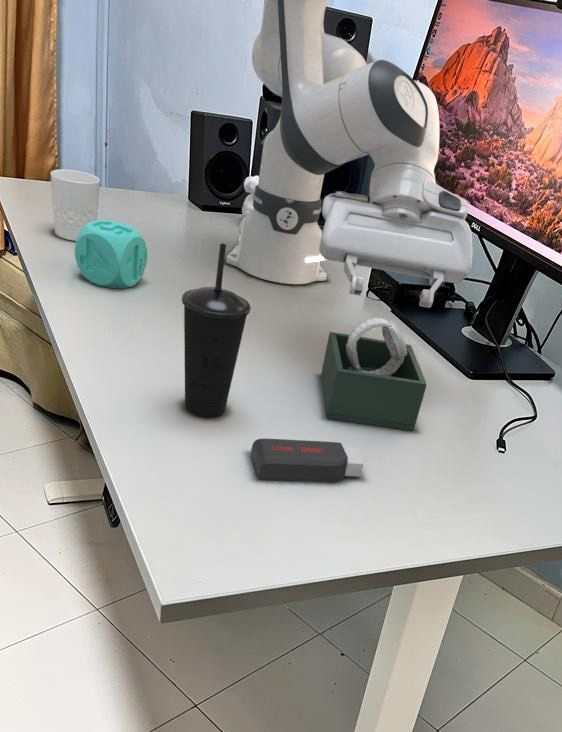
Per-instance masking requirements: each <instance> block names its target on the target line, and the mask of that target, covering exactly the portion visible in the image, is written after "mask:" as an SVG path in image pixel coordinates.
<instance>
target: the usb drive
mask: <svg viewBox="0 0 562 732" xmlns="http://www.w3.org/2000/svg"><path fill="white" fill-rule="evenodd" d="M250 456H251V459H252V464H253V466H254V470H255V474H256V477H257V479H258V480H260V481H262V480H263V481H290V482H317V483H318V482H320V483H322V482H323V483H337V482H339V481H343V480H344V479H345V477H359V478H360V477H361V475H362V471H363V467H364V461H363V460H362V458H361V455H360V453H359V451H358V449H357V448H347V447H344V446H343V444H342V442H337V441H321V440H302V439H298V440H297V439H281V438H257V439H256V440H254V441H253V443H252V446H251V449H250Z"/></svg>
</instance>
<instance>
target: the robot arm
mask: <svg viewBox="0 0 562 732" xmlns="http://www.w3.org/2000/svg"><path fill="white" fill-rule="evenodd" d="M329 2H330V0H263V8H262V9H263V10H262V19H261V25H260V26H261V27H260V31H259V33H258V34H257V35H256V38H255V39H254V42H253V44H252V45H253V46H252V49H251V61H252V62H251V63H252V67H253V70H254V73H255V74H256V77H257V78H258V79H259V81H261V83H262V84H264V86H265V87H266V88H267V89H268V90H269V91H271V92H272V93H273V94H274V95H276V96H278V97H280V98H281V108H280V117H279V119H278V122H277V123H276V125H275V127H274V128H273V129H272V130H271V131H270V132H269V133H268V134H266V136H265V138H264V140H263V145H262V152H261V159H260V160H261V162H260V167H259V174H258V177H259V182H258V185H256V187H255V192H254V195H253V198H254V199H253V207H254V209H253V210H252V212H251V213H250V214H248V215H247V216H246V218H243V217H242V220H241V221H240V222H239V228H238V233H239V234H240V235H239V237H238V239H237V244H236V246H235V247H233V249H232V250H231V251H230V253H228V255H226V257H225V263H227V264H228V265H231V266H233V267H236V268H238V269H240V270H242V271H243V272H245V273H247V274H249V275H251V276H253V277H256V278H258V279H262V280H264V281H270V282H273V283H277V284H279V283H280V284H286V285H306V284H311V283H314V282H324V281H327V280H328V279H327V278H328V274H327V273H326V271H325V269H324V268H323V267H322V266H321V261H330V262H331V261H332V262H338V263H341V264H343V272H344V274H345V275H346V277H347V279H348V282H349V283H350V285H349V295H355V296H361V295H362V294H363V289H364V282H365V281H364V280H365V278H364V277H360V276H358V274H357V271H356V269H355V268H356V266H359V267H365V268H371V269H376V270H381V271H387V272H393V273H397V274H403V275H408V276H413V277H418V278H425V279H428V280H429V282H428V283H429V286H431V287H430V288H429V289H425V288H424V289H422V291H421V293H420V294H419V302H418V303H419V304H418V306H419V307H423V308H428V309H431V307H432V305H433V303H434V298H435V293H436V292H437V290H438V289H439V288H440V286H441V285H442V283H443V282H446V283H451V284H457V285H458V284H460V283H461V282H463V281H464V280H465V279H466V278H467V276H469V274H470V272H471V269H472V264H473V238H472V229H471V227H470V225H469V223H468V222H467V221H466V218H467V216H468V212H469V203H468V201H466V200H465V199H464V198H462V197H461V196H458V195H456V194H454V193H452V192H450V191H449V190H447V189H445V188H444V187H442V186H441V185H439V184H437V181H436V175H435V167H436V165H437V163H438V159H439V152H440V138H441V137H440V132H441V131H440V130H441V129H440V113H439V107H438V103H437V99H436V96H435V94H434V93H433V91H432V90H431V89H430V88H429V87H428V86H427V85H425V84H424V83H422V82H420V81H417V80H414V79H413V78H412V77H411V76H410V75H409V74H408V73H407V72H406V71H404V70H403V69H402V68H401V67H399V66H398V65H396V64H394V63H393V62H391V61H389V60H385V59H378V60H376V61H372V62H369V63H368V64H367V62H366V60H365V58H364V56H363V55H362V54H361V53H360V52H359V51H358V50H356V49H355V48H354V47H353V46H352V45H351V44H349V43H348V41H345V40H344V39H342V38H341V37H338V36H334V35H331V34H329V33H325V27H324V22H325V21H324V20H325V12H326V8H327V6H328V4H329ZM368 155H369V156H370V157H371V158H372V159H373V160H374V167H373V170H372V172H371V175H370V181H369V190H368V196H367V195H363V194H358V193H348V192H346V191H343V190H336V191H335V192H332V193H329V194H327V195H325V197H324V198H323V199H322V198H321V193H322V188H323V183H324V179H325V174H327V173H329V172H331V171H333V170H336V169H338V168H339V167H342V166H343V165H344V164H345V163H349V162H352V161H355V160H357V159H361V158H363V157H365V156H368ZM320 214H321V215H322V218H323V220H325V222H324V225H319V223H318V221H319V220H320Z"/></svg>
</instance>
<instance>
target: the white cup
mask: <svg viewBox="0 0 562 732" xmlns="http://www.w3.org/2000/svg"><path fill="white" fill-rule="evenodd" d="M100 184H101V179H100V178H99V177H98V176H96V175H94V174H92V173H89V172H85V171H80V170H75V169H74V170H73V169H55V170H54V169H53V170H51V171H50V185H51V186H50V187H51V202H52V204H51V205H52V206H51V207H52V217H53V221H54V234H55V235H56V236H57V237H59V238H61V239H65V240H67V241H73V242H76V240H77V237H78V235H79V233H80V231H81V229H82V228H83V227H84V226H85V225H86V224H87V223H89V222H91V221H98V211H99V198H100Z"/></svg>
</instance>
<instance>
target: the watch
mask: <svg viewBox="0 0 562 732" xmlns="http://www.w3.org/2000/svg"><path fill="white" fill-rule="evenodd" d="M378 327H381V332H382V337H383V341H385V343H386V345H387V347H388V349H389V351H390V355H391V356H392V357H391V359H390V360H391V361H390V360H389V361H388V362H387V363H386V365H384V366H383V367H381V368H380V369H376V368H366V367H360V365H359V362H358V356H357V351H356V348H357V345H356V343H357V341H358V340H359V338H360V337H363V335H364V334H365V333H366V332H369V331H371V330H373V329H375V328H378ZM348 335H349V337H348V341H347V344H346V351H347V356H348V359H349V362H350V364H351V366H352V367H347V369H346V370H352V371H359V372H365V373H371V374H378V375H384V376H390V375H392V374H393V373H394V372H395V371H396V370H397V369H398V368H399V367H400V365H401V364H402V363H403V361H404V356H406V355H407V347H406V344H407V343H406V341H405V339H404V336H403V334H402V332H401V330H400V329H399V327H398V326H397V324H396V323H395V322H394V321H393V320H389V321H388V320H387V319H386V318H384V317H381V316H379V317H378V316H372V317H368V318H366V319H363V320H361V321H359V323H357V324H356V325H355V326H354V328H352V330H351V331H350V333H349V334H348Z"/></svg>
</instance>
